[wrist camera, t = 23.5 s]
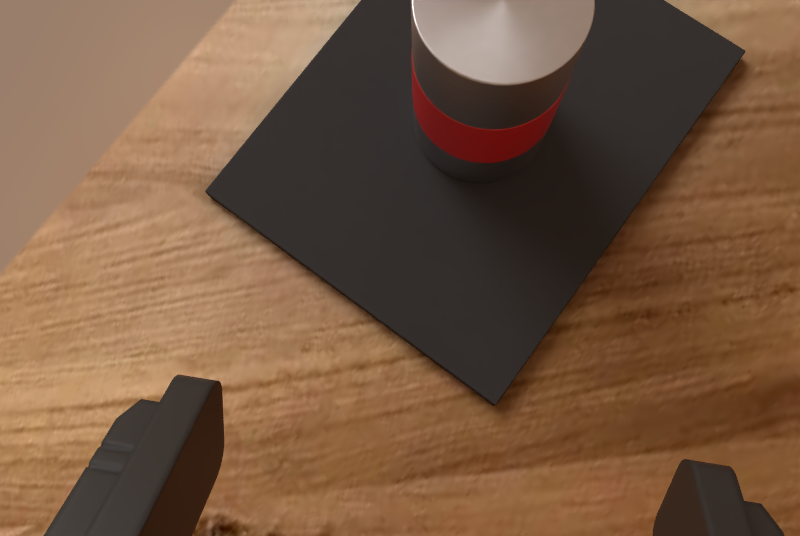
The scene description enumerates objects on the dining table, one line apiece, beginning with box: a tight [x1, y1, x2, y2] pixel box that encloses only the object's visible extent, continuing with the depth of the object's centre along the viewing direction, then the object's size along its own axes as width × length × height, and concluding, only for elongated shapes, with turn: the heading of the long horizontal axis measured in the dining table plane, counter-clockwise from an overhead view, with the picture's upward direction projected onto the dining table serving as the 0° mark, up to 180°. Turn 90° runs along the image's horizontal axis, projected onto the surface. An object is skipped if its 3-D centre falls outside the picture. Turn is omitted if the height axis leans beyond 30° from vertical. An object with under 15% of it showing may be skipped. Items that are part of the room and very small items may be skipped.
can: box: [411, 0, 595, 183], centre depth 30 cm, size 6×6×10 cm
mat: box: [205, 0, 745, 405], centre depth 35 cm, size 20×16×1 cm
